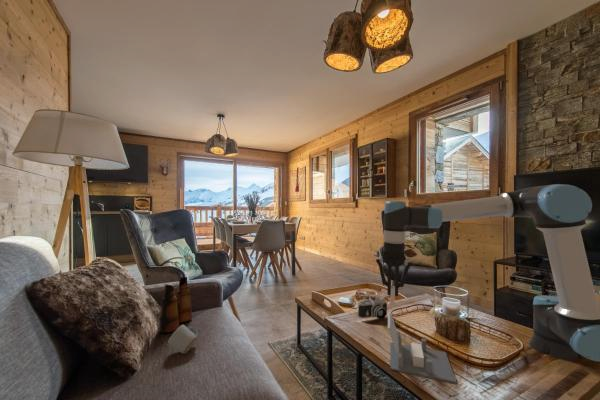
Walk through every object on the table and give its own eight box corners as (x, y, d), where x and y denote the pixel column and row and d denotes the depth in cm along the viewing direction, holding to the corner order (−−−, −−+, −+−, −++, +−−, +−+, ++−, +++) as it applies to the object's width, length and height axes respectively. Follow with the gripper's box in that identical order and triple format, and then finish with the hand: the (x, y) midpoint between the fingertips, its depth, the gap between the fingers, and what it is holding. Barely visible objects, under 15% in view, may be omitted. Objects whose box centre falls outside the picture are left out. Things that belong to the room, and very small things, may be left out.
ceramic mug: (182, 359, 97) (186, 349, 93) (165, 346, 98) (169, 335, 94) (201, 336, 106) (206, 326, 102) (186, 324, 107) (189, 314, 103)
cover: (390, 311, 104) (388, 311, 104) (390, 327, 91) (387, 327, 91) (398, 334, 103) (396, 334, 103) (399, 353, 89) (397, 354, 90)
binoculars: (181, 313, 132) (181, 274, 132) (195, 315, 130) (195, 275, 130) (154, 331, 114) (154, 286, 114) (170, 333, 112) (171, 288, 112)
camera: (364, 322, 123) (364, 302, 123) (355, 315, 131) (356, 295, 131) (393, 319, 127) (393, 299, 127) (383, 311, 136) (383, 292, 136)
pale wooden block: (420, 353, 98) (420, 344, 98) (423, 367, 89) (423, 358, 89) (411, 351, 99) (411, 342, 99) (413, 365, 90) (413, 356, 90)
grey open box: (445, 353, 98) (445, 338, 98) (456, 383, 82) (456, 364, 82) (390, 343, 105) (390, 329, 105) (390, 369, 89) (390, 352, 89)
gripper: (411, 241, 98) (410, 303, 98) (376, 239, 102) (375, 297, 102) (413, 244, 91) (411, 311, 91) (375, 241, 95) (373, 305, 95)
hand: (392, 304), depth 97 cm, fingers closed
